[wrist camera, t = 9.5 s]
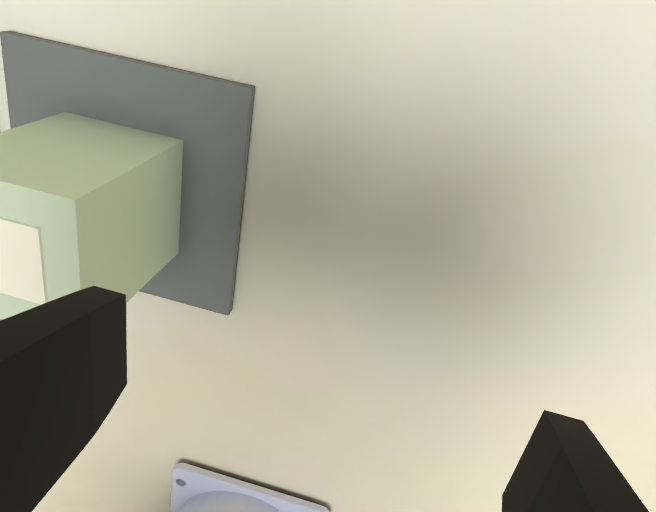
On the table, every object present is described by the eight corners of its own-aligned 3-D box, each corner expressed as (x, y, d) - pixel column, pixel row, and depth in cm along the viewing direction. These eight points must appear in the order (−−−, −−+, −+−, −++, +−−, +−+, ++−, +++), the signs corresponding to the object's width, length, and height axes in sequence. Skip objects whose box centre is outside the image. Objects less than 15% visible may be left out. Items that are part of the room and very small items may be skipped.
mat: (231, 310, 22) (228, 315, 21) (32, 255, 23) (25, 260, 22) (254, 86, 18) (250, 88, 17) (8, 30, 19) (-1, 31, 18)
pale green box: (178, 252, 21) (81, 345, 15) (72, 225, 21) (-58, 304, 16) (183, 140, 19) (72, 201, 13) (64, 112, 19) (-88, 160, 14)
